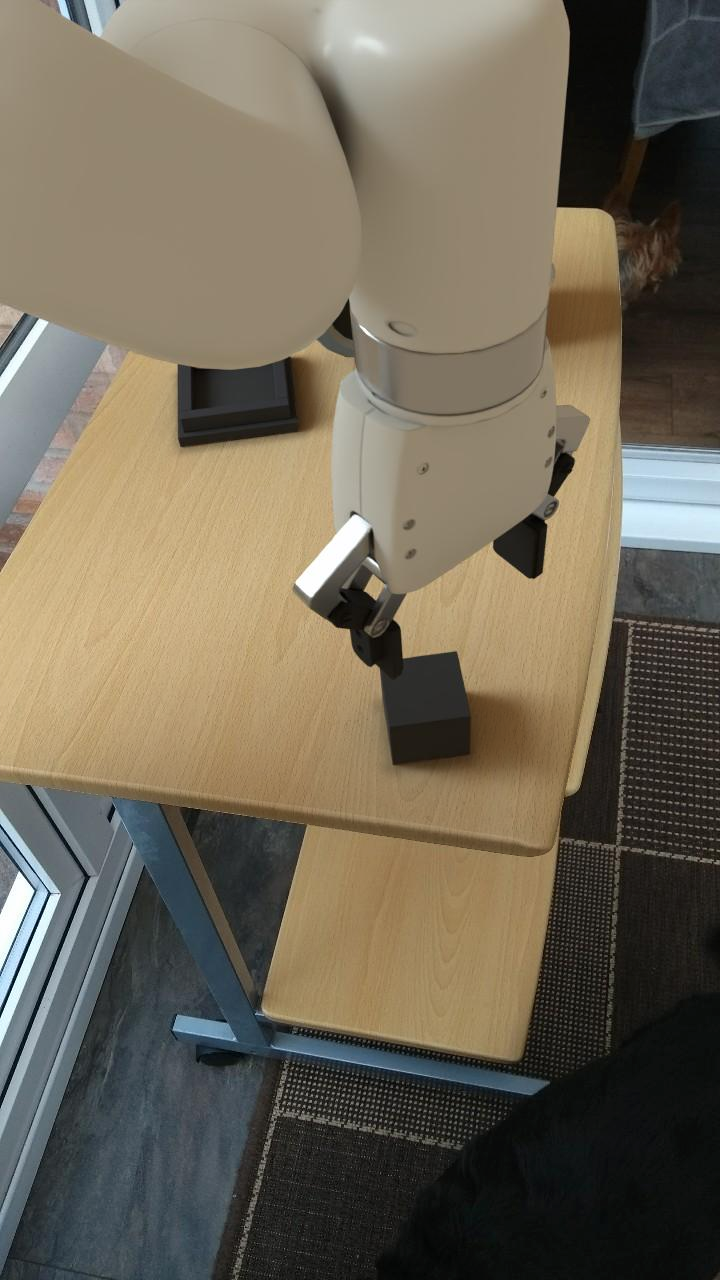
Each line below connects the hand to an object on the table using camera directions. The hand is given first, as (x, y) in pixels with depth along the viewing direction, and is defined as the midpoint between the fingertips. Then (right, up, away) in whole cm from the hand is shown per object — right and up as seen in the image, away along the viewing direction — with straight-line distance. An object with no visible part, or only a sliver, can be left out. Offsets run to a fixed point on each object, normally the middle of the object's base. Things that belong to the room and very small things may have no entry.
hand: (450, 610), depth 53 cm
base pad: (-15, +19, +35) cm, 42 cm away
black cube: (0, -7, +13) cm, 15 cm away
